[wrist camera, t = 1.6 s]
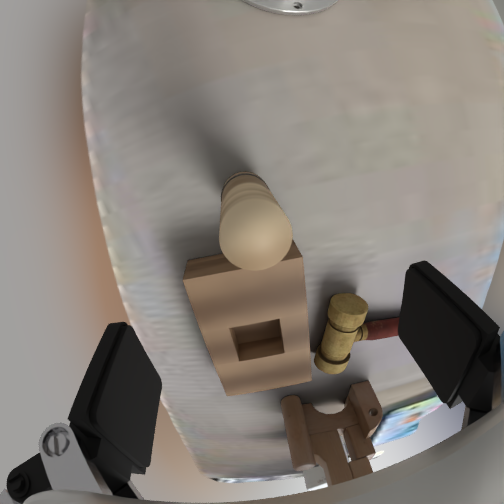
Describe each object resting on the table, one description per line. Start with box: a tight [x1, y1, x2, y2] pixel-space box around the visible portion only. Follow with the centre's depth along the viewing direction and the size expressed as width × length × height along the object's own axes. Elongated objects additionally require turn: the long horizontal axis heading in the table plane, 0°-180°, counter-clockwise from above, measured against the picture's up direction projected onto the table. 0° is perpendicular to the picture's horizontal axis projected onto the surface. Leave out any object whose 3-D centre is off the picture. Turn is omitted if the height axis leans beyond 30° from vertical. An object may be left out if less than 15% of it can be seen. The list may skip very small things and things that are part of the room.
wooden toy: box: [281, 381, 382, 487], centre depth 30 cm, size 16×7×25 cm, turn 93°
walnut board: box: [183, 240, 312, 396], centre depth 31 cm, size 18×11×4 cm, turn 10°
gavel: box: [314, 293, 400, 374], centre depth 34 cm, size 21×5×10 cm
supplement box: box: [303, 436, 349, 491], centre depth 42 cm, size 7×7×13 cm
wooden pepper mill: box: [219, 172, 293, 271], centre depth 21 cm, size 4×4×12 cm
